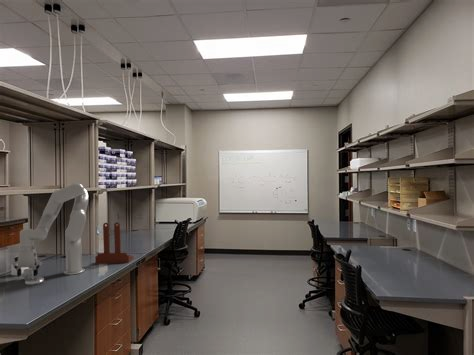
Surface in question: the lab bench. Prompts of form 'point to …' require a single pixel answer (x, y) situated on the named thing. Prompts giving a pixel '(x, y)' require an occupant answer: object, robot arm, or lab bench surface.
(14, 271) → the medicine bottle
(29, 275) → the white light bulb
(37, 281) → the shallow grey dish
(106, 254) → the twin post bracket
